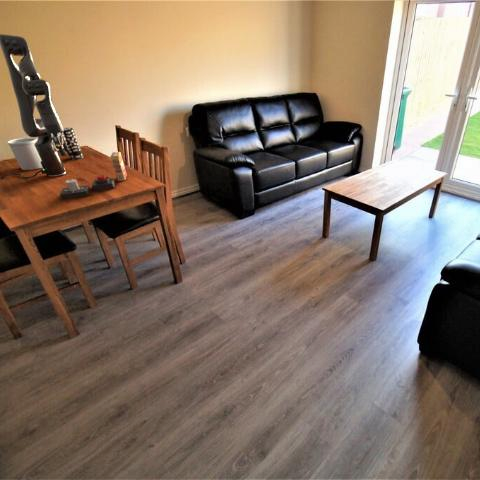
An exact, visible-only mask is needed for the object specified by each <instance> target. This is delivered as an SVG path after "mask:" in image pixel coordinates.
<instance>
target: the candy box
mask: <svg viewBox="0 0 480 480" xmlns="http://www.w3.org/2000/svg"><path fill="white" fill-rule="evenodd" d="M110 159H111V162H112V163H111V164H112V166H113V168H114V172H115V176H116V180H117V181H118V182H123V181H124V182H125V181H126V179H127V177H128V174H127V171H126V167H125V164H124V160H123V158H122V154H121V151H112V152H111V155H110Z"/></svg>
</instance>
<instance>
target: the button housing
mask: <svg viewBox="0 0 480 480" xmlns="http://www.w3.org/2000/svg"><path fill="white" fill-rule="evenodd" d="M105 177H106V179H105V180H98V179H97V178H94V180H93V182H92V185H91V187H92V190H93V192H98V191H106V190H112V189H115V185H116V182H115V178H114V177H110V178H109V176H105Z"/></svg>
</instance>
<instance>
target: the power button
mask: <svg viewBox="0 0 480 480" xmlns="http://www.w3.org/2000/svg"><path fill="white" fill-rule="evenodd" d="M106 177H107V176H106V175H105V174H99V175H97V176H96V179H98V180H105V179H106Z"/></svg>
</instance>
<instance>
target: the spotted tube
mask: <svg viewBox="0 0 480 480" xmlns="http://www.w3.org/2000/svg"><path fill="white" fill-rule="evenodd" d="M63 128H64V131H63V135H64V137H65V139H66V141H67V142H66V143H67V144H66V145H67V147H68V150H69V151H68V152H66V154H67V155H68V158H69V160H80V159H83V158H84V154H83V151H82V149H81V146H80V144H79V141H78V139H77V135H76V134H75V131H74V129H73V127H63Z"/></svg>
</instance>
